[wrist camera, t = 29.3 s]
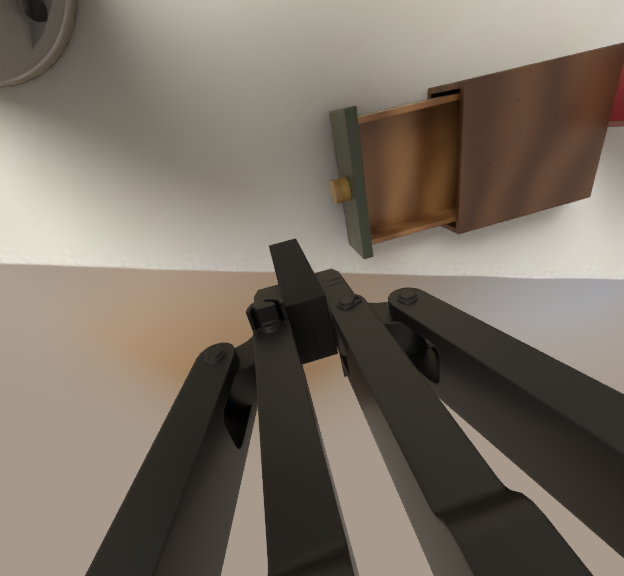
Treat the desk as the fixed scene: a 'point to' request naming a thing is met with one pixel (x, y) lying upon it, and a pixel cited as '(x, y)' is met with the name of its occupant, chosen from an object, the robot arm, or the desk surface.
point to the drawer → (396, 169)
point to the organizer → (531, 135)
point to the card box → (618, 104)
